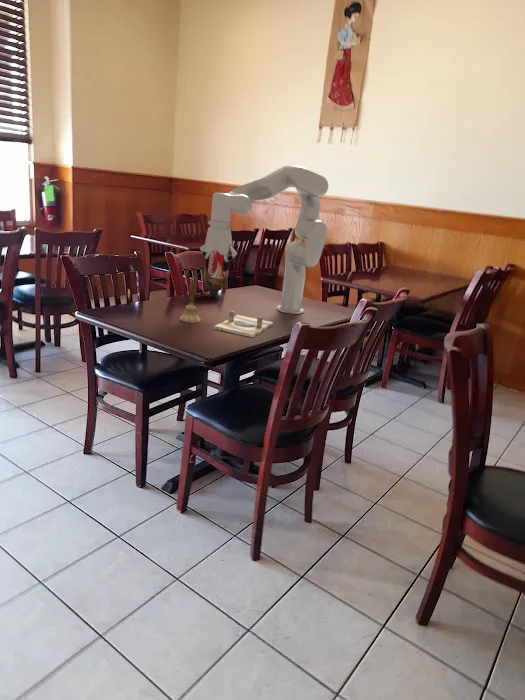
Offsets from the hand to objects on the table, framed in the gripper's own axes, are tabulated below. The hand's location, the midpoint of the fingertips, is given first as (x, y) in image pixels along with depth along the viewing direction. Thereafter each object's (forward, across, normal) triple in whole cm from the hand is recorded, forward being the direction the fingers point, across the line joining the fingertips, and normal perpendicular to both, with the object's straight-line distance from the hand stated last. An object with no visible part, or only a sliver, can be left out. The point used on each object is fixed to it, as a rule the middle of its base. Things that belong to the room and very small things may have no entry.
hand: (217, 269), depth 204 cm
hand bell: (+19, -3, -14) cm, 24 cm away
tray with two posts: (+19, +18, -8) cm, 27 cm away
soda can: (+3, 0, 0) cm, 3 cm away
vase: (+19, -15, +32) cm, 40 cm away
